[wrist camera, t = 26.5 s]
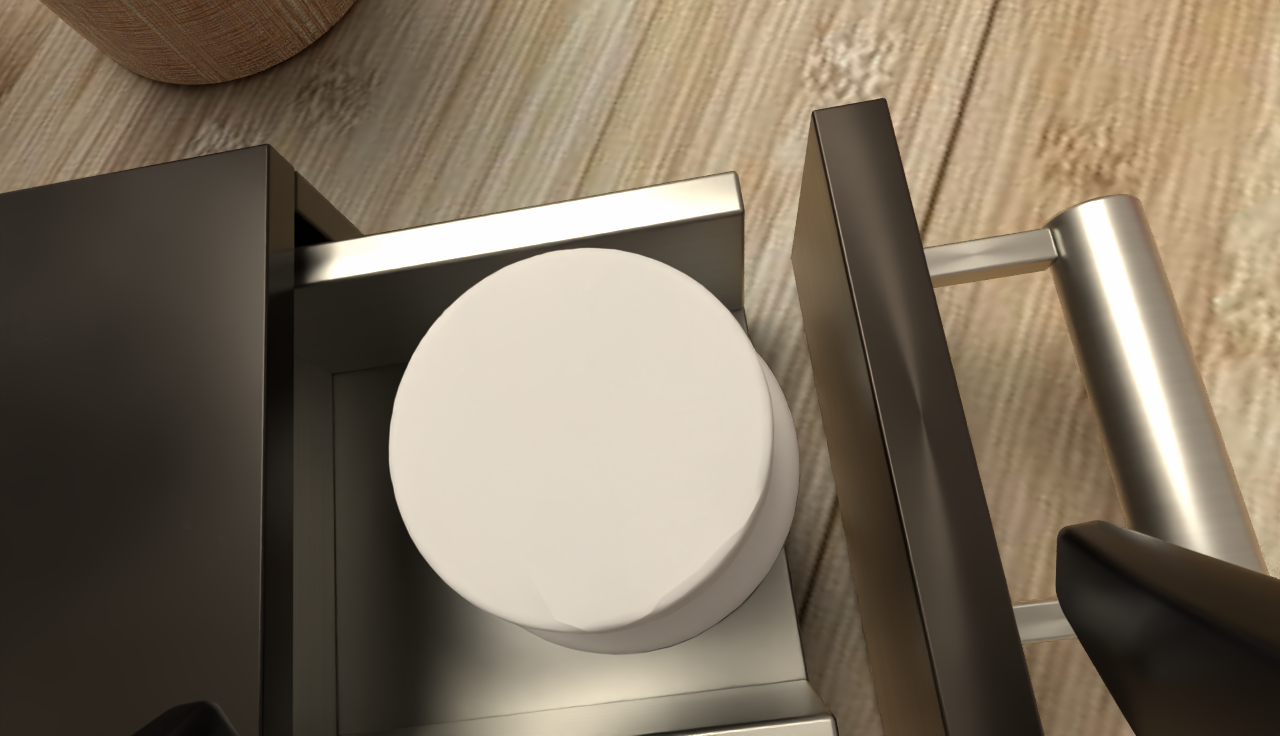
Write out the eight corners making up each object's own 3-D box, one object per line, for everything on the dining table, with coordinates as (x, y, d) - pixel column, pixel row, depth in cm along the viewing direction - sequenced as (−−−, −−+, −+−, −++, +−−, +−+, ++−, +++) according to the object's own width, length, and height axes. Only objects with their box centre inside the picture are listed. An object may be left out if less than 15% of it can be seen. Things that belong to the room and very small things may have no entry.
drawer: (1035, 216, 18) (1167, 45, 12) (1184, 714, 15) (1446, 786, 9) (323, 333, 19) (154, 227, 14) (327, 810, 16) (113, 920, 11)
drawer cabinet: (440, 305, 20) (269, 141, 13) (468, 817, 17) (257, 987, 9) (-51, 387, 21) (-463, 279, 14) (-116, 880, 18) (-705, 1075, 11)
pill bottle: (827, 475, 16) (913, 350, 8) (698, 685, 15) (646, 788, 7) (630, 354, 17) (530, 140, 9) (501, 544, 16) (266, 494, 8)
